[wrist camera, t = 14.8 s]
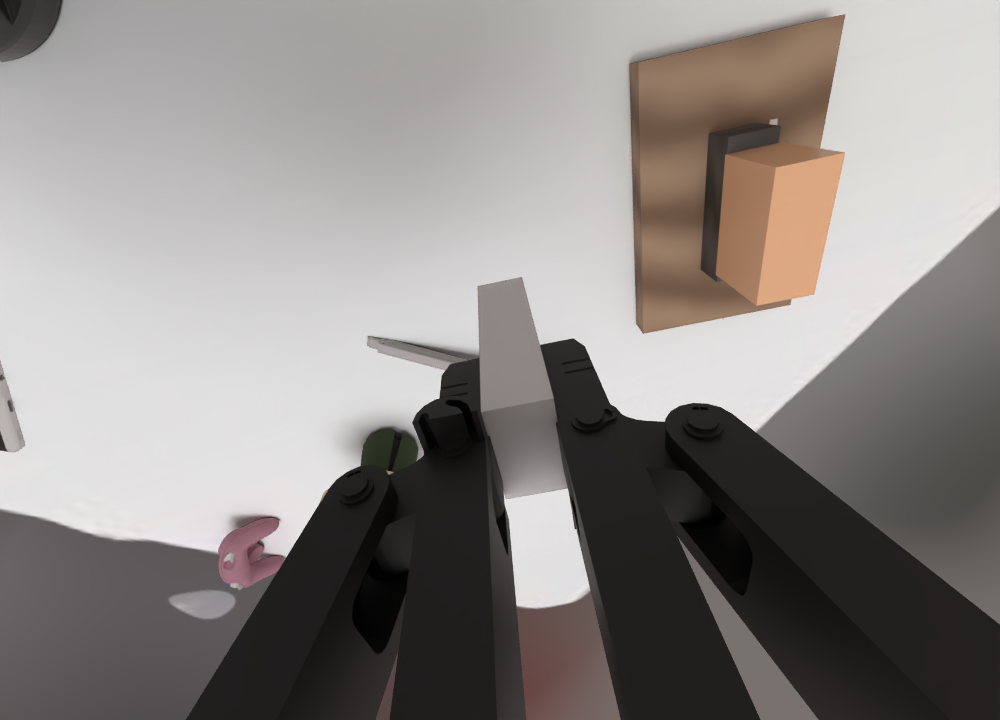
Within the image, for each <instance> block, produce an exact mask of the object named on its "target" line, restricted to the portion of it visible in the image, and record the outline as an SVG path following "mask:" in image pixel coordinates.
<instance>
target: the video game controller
mask: <svg viewBox="0 0 1000 720" xmlns="http://www.w3.org/2000/svg"><path fill="white" fill-rule="evenodd" d="M278 526H279V521H278V520H277V519H276V518H264V519H260V520H257V521H254V522H252V523H250V524H247V525H245V526H244V527H242V528H240V529H236V530H234V531H232V532H231V533H229V534H228V535H227V536H226V537H225V538H224V539H223V541H222V543H221V544H220V547H219V550H218V552H219V554H220V558H219V573H220V576H221V578H222V579H223V580H224V582H226V583H227V584H228V585H229V586H231V587H234V588H236V587H238V589H239V590H241V589H242V588H246V587H249V586H250V585H252V584H254V583H255V582H257V581H259V580H261V579H263V578H265V577H267V576H270V575H272V574H274V573H275V572H277V571H278V570H279V569H280V567H281V565H282V564H283V562H284V558H283V557H281V556H271V557H267V558H263V559H260V560H258V558H259V557H260V555H261V554H262V552H263V546H261V545H259V544H258V543H257V542H258V540H260V539H262V538H264V537H266V536H268V535H270V534H271V533H273V532H274V531H275V530H276V529H277V528H278Z"/></svg>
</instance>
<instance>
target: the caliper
mask: <svg viewBox="0 0 1000 720" xmlns="http://www.w3.org/2000/svg"><path fill="white" fill-rule="evenodd" d="M367 346H369V347H371V348H374V349H378V352H379V353H382V354H386V355H390V356H393V357H397V358H401V359H405V360H408V361H412V362H416V363H420V364H423V365H427V366H431V367H435V368H438V369H442V370H446V369H447V368H448V366H449V365H450V364H453V363H458V362H463V361H468V360H467V359H463V358H459V357H455V356H452V355H448V354H444V353H440V352H437V351H433V350H429V349H426V348H422V347H418V346H415V345H411V344H407V343H403V342H400V341H395V340H389V339H383V338H382V339H378V338H374V337H370V336H368V342H367Z"/></svg>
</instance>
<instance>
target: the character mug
mask: <svg viewBox="0 0 1000 720" xmlns="http://www.w3.org/2000/svg"><path fill="white" fill-rule="evenodd" d="M394 435H395V431H394V430H382V431H379V432H376V433H374V434H372V435H370V436H369V438H368V439H367V440H366V442H365V443H364V445H363V451H362V458H361V466H366V465H375V466H380V467H382V468H383V469H384V470H386V471H387V472H388V474H391V473H394V472H396V471H398V470H401V469H403V468H405V467H407V466H409V465H411V464H413V463H415V462H416V460H417V455H418V447H417V445H416V443H415V441H414V440H413V439H412V438H411V437H409V436H408V435H407V434H405V433H403V434H402V438H401V441H400V440H398V439H394ZM327 491H328V490H326V491H325V492H324V494H323V496H322V499H323V497H324V496H325V494H326V493H327ZM322 499H321V501H322ZM321 501H320V502H321Z"/></svg>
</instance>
